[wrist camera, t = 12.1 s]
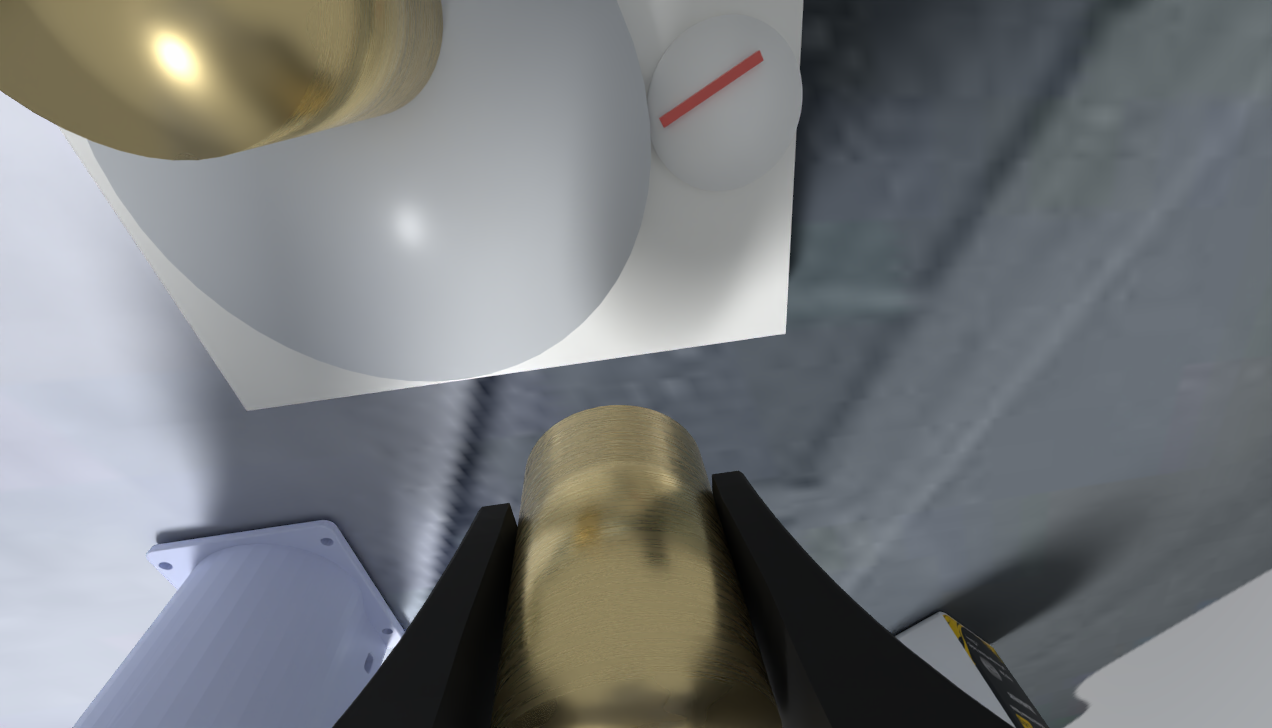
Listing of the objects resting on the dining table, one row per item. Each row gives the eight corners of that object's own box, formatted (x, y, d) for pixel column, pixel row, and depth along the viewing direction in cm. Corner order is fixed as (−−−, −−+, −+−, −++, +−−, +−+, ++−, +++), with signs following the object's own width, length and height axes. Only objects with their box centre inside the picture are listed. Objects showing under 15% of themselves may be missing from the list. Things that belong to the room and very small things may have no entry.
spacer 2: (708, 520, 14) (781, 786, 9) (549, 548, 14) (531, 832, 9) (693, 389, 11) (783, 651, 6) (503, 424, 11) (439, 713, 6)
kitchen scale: (766, 308, 18) (794, 345, 16) (278, 378, 18) (232, 426, 16) (784, -264, 11) (839, -355, 9) (-44, -163, 11) (-225, -228, 8)
